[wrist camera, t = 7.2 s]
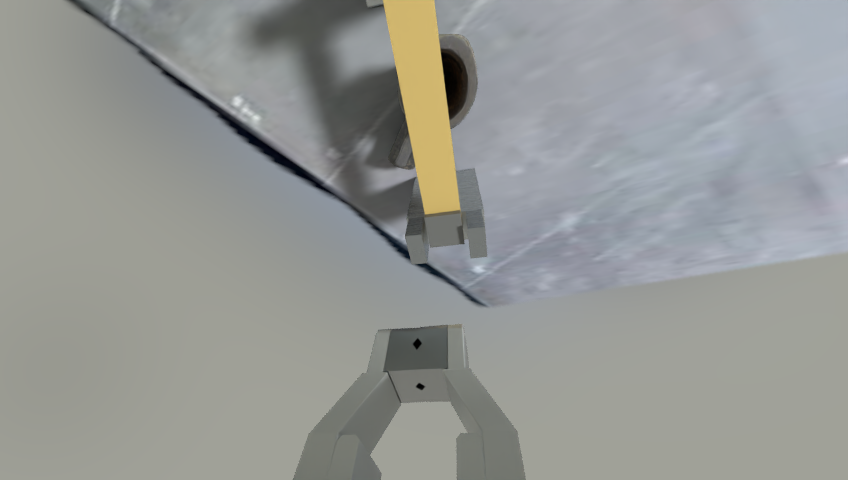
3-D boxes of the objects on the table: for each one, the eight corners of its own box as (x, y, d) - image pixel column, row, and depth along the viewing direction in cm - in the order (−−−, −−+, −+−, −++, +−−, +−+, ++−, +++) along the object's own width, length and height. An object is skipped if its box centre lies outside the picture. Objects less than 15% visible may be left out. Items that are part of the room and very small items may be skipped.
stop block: (415, 177, 36) (402, 236, 25) (474, 168, 35) (487, 226, 24) (420, 199, 38) (409, 264, 27) (476, 191, 36) (489, 256, 26)
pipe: (380, 145, 34) (365, 172, 28) (427, 18, 27) (422, 12, 21) (429, 168, 35) (425, 198, 29) (485, 51, 29) (498, 55, 22)
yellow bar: (367, -76, 17) (360, -88, 16) (426, -92, 17) (424, -107, 15) (429, 237, 28) (428, 247, 27) (465, 232, 28) (466, 243, 26)
